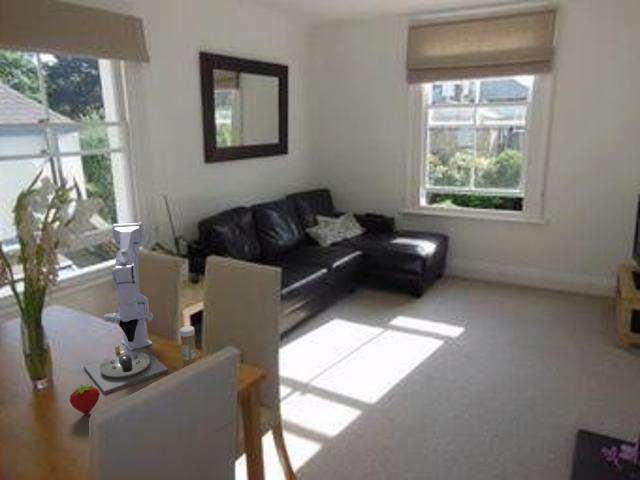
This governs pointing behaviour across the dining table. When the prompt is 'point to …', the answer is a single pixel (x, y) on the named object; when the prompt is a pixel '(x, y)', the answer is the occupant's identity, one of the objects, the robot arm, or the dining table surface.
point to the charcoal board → (115, 384)
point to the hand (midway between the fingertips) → (131, 340)
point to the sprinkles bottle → (188, 345)
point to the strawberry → (84, 398)
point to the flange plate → (119, 367)
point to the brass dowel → (117, 349)
